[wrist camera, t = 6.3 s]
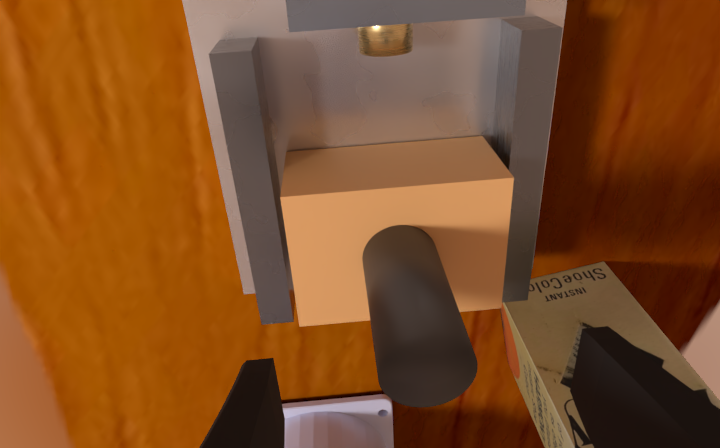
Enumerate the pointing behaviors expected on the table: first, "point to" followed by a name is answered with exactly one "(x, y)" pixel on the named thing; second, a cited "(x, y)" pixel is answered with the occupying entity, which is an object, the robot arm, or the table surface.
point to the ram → (401, 252)
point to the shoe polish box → (577, 344)
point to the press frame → (367, 114)
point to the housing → (390, 18)
